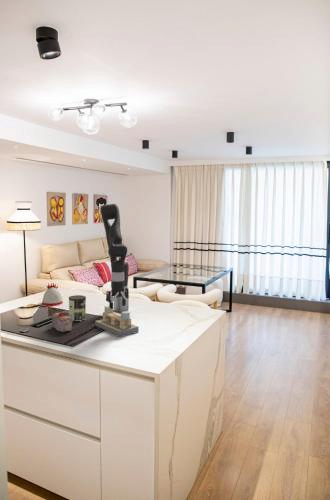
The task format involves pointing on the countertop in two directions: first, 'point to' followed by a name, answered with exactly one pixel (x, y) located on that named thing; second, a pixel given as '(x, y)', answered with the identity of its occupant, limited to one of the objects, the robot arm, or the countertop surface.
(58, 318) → the food item
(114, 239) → the robot arm
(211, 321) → the countertop surface
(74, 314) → the coffee can
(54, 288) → the kitchen timer
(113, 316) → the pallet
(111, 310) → the crate
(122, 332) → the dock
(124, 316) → the crate
